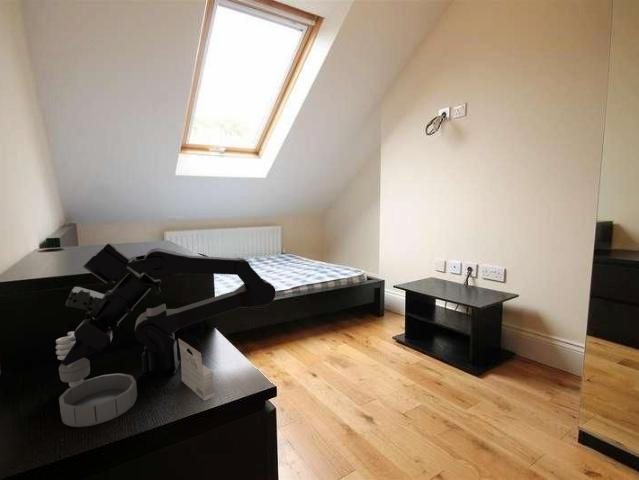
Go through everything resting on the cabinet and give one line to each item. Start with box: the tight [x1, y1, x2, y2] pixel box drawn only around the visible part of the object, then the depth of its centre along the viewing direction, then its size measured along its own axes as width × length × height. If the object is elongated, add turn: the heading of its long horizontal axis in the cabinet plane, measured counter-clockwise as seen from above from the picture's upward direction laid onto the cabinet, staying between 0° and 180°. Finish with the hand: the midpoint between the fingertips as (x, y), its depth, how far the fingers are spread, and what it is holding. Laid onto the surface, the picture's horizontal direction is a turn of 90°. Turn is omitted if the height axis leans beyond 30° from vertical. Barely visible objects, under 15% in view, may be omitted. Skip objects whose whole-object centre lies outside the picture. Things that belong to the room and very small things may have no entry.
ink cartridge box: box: [177, 338, 215, 402], centre depth 72 cm, size 2×11×10 cm, turn 43°
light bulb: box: [55, 331, 91, 388], centre depth 73 cm, size 6×6×12 cm
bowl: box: [58, 372, 138, 428], centre depth 67 cm, size 12×12×4 cm
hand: (69, 355), depth 73 cm, fingers open, 9 cm apart
